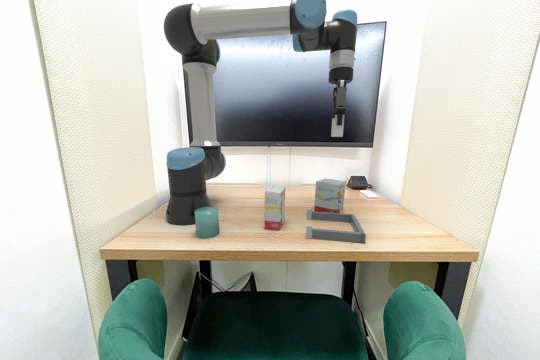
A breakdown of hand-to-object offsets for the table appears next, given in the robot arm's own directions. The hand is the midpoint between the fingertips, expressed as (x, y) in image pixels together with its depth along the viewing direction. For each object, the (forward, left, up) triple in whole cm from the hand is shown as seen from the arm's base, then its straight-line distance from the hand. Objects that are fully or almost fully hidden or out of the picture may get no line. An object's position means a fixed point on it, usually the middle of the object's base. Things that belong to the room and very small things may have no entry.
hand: (336, 136), depth 72 cm
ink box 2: (-1, +2, -28) cm, 28 cm away
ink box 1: (-19, -14, -28) cm, 36 cm away
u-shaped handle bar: (-1, -14, -28) cm, 31 cm away
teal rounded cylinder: (-37, -24, -28) cm, 52 cm away
